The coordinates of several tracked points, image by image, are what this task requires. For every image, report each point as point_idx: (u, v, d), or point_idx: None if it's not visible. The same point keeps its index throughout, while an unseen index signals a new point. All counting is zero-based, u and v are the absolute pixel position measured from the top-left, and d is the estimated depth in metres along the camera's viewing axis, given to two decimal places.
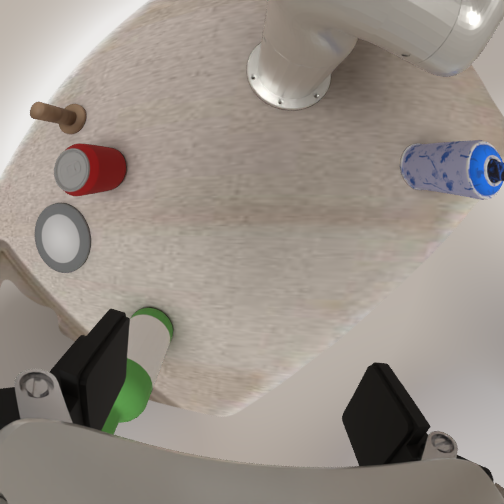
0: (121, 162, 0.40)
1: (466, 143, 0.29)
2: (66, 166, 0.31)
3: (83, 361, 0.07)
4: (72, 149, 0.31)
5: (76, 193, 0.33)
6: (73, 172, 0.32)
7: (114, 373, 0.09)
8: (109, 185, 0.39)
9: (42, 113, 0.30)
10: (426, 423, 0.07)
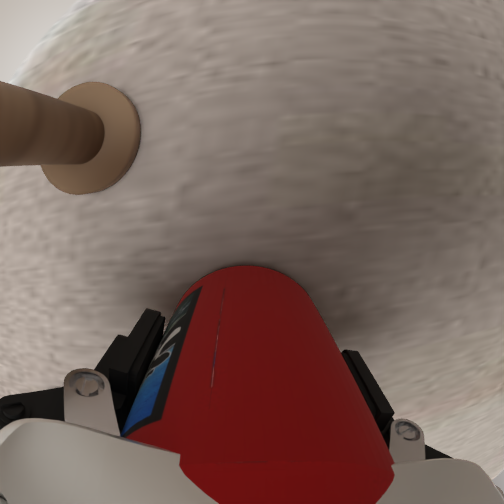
0: None
1: None
2: None
3: (131, 359, 0.07)
4: None
5: None
6: None
7: None
8: None
9: None
10: (390, 409, 0.08)
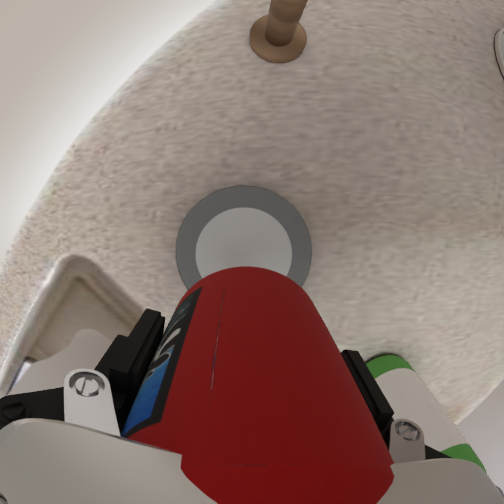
0: None
1: None
2: None
3: (131, 359, 0.07)
4: None
5: None
6: None
7: None
8: None
9: None
10: (390, 409, 0.08)
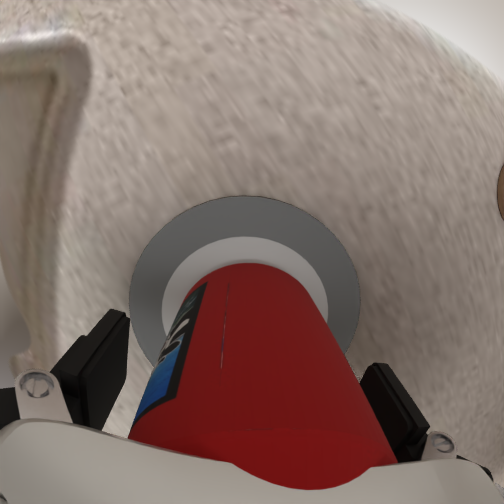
0: None
1: None
2: None
3: (83, 361, 0.07)
4: None
5: None
6: None
7: (114, 373, 0.09)
8: None
9: None
10: (426, 423, 0.07)
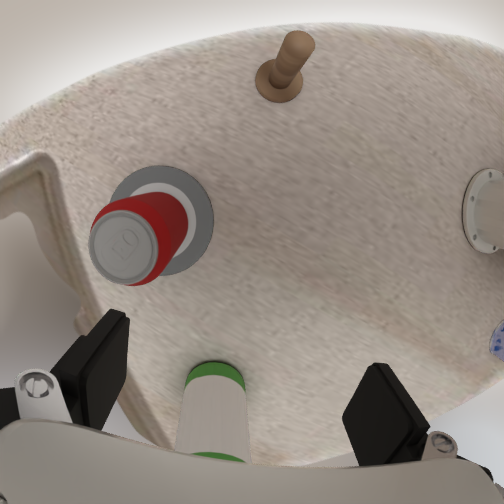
0: (176, 203, 0.29)
1: None
2: (110, 247, 0.20)
3: (83, 361, 0.07)
4: (106, 216, 0.20)
5: (148, 278, 0.22)
6: (128, 250, 0.20)
7: (114, 373, 0.09)
8: (181, 241, 0.27)
9: (306, 56, 0.20)
10: (426, 423, 0.07)
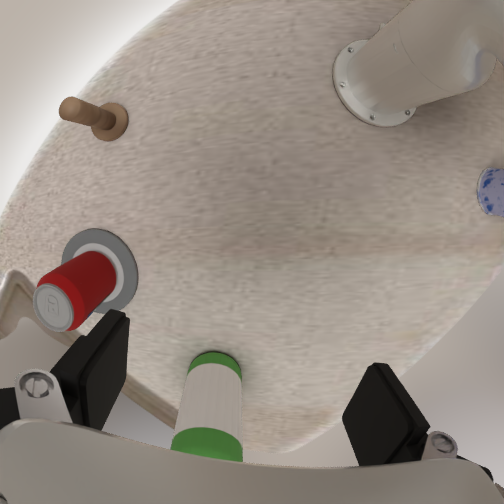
0: (92, 255, 0.35)
1: None
2: (48, 311, 0.26)
3: (83, 361, 0.07)
4: (35, 294, 0.26)
5: (77, 318, 0.27)
6: (55, 307, 0.26)
7: (114, 373, 0.09)
8: (102, 280, 0.33)
9: (78, 112, 0.24)
10: (426, 423, 0.07)
